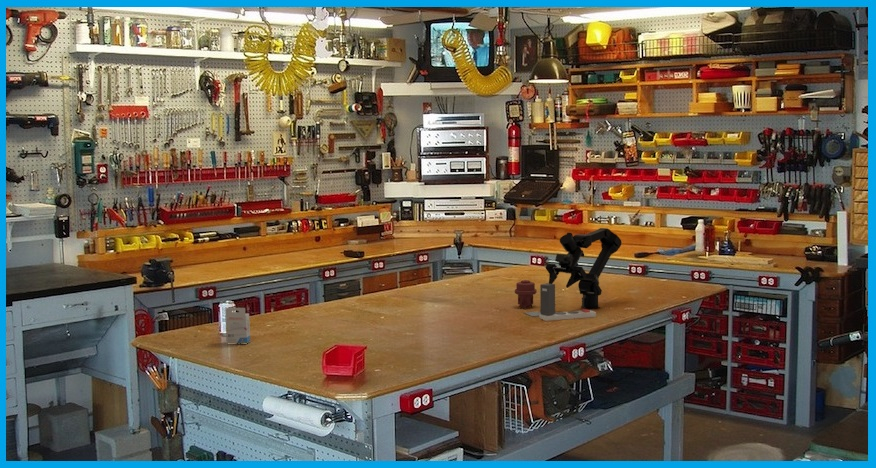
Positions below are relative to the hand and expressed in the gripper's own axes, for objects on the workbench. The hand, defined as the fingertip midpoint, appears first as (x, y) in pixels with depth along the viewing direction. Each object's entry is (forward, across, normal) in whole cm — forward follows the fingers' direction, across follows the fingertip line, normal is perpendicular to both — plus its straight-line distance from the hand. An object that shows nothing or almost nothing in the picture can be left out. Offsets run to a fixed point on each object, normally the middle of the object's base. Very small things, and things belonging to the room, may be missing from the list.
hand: (558, 286), depth 450 cm
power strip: (+9, +5, +10) cm, 14 cm away
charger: (+13, 0, +2) cm, 14 cm away
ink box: (+95, -68, -77) cm, 140 cm away
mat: (+11, -10, +8) cm, 17 cm away
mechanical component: (+4, -24, +16) cm, 29 cm away
